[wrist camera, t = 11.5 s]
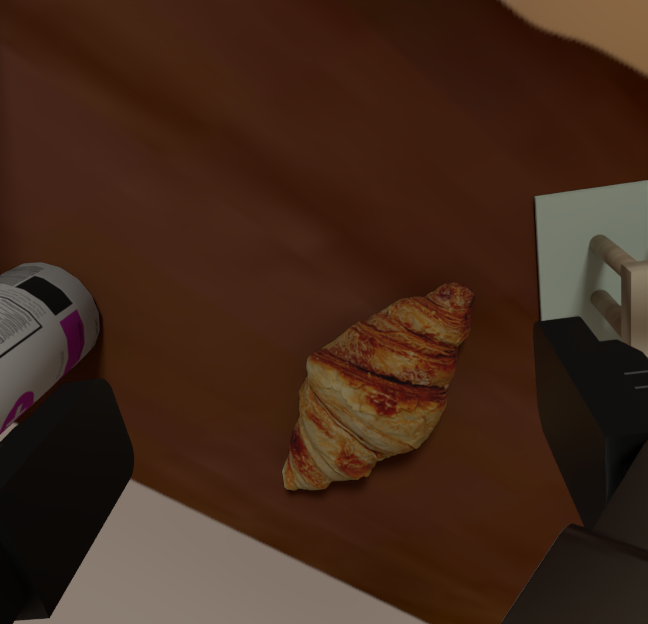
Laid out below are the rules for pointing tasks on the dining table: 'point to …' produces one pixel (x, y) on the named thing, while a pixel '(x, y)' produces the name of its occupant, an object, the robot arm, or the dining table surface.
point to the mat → (587, 248)
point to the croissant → (377, 388)
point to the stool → (624, 294)
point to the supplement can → (40, 333)
